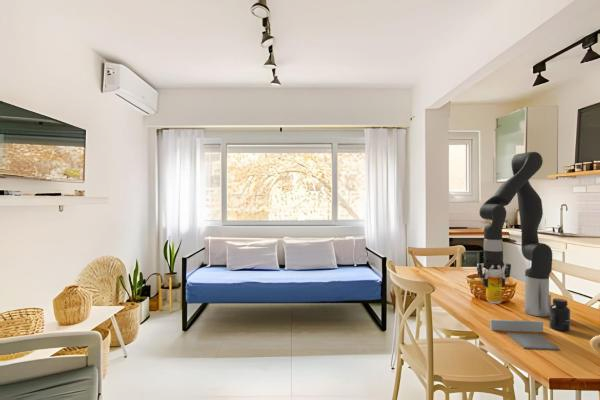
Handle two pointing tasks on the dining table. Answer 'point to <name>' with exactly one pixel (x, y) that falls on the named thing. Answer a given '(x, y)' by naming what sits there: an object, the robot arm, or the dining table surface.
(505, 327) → the acrylic wall
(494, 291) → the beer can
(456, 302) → the dining table surface
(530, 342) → the slate coaster
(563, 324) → the supplement bottle
